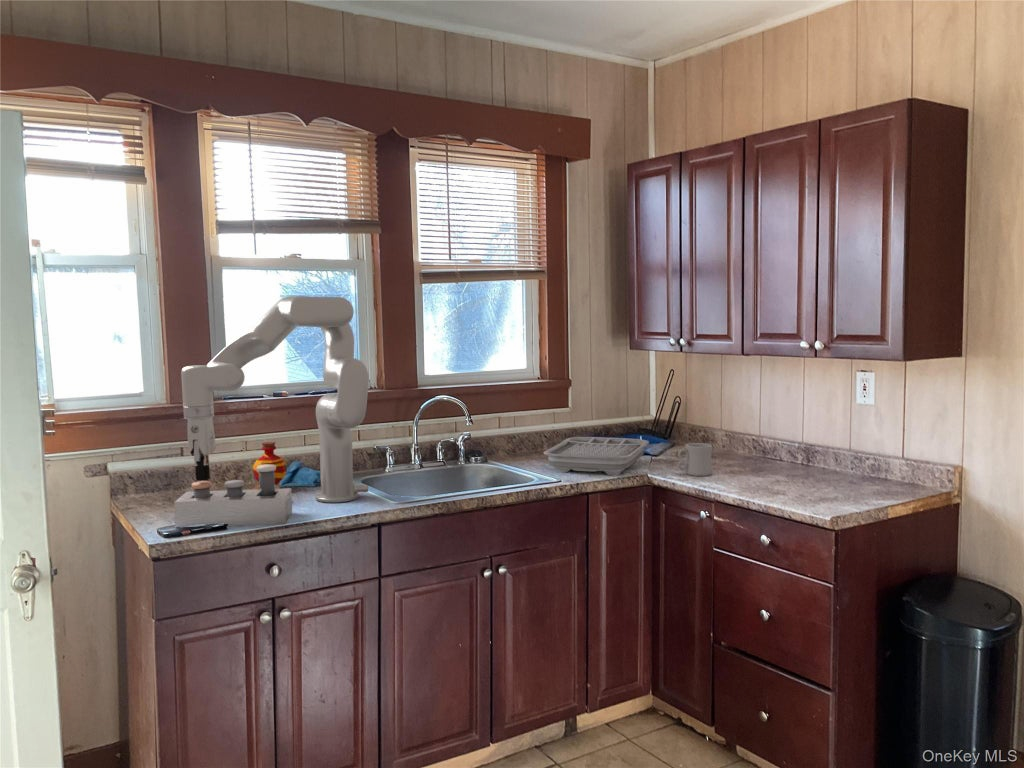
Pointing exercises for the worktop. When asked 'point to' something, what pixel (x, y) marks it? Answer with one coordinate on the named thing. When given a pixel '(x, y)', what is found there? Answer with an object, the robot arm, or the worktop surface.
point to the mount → (234, 508)
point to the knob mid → (234, 488)
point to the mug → (697, 459)
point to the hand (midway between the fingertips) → (203, 479)
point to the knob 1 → (202, 489)
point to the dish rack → (596, 454)
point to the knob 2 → (266, 480)
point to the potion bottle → (270, 462)
